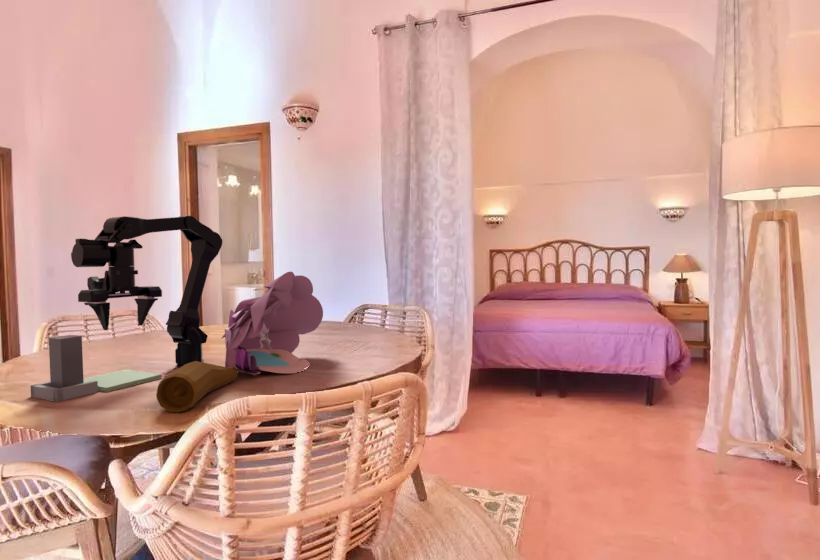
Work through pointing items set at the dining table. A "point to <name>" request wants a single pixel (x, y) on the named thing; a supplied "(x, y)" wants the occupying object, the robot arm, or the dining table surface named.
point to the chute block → (66, 361)
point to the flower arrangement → (272, 327)
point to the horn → (191, 384)
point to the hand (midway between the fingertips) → (123, 327)
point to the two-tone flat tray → (93, 385)
